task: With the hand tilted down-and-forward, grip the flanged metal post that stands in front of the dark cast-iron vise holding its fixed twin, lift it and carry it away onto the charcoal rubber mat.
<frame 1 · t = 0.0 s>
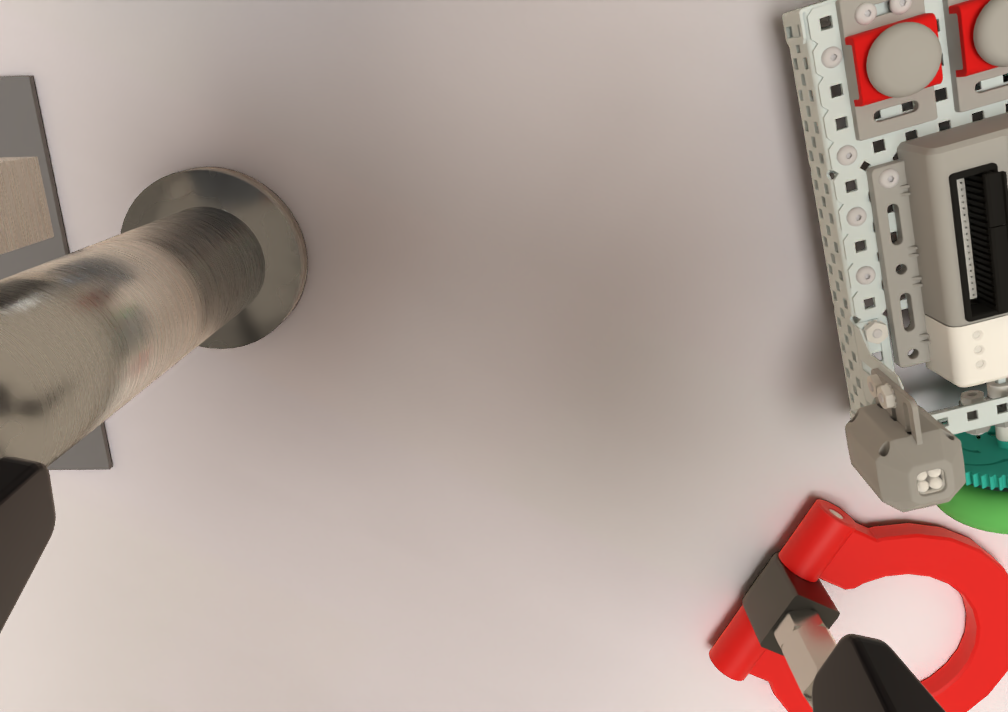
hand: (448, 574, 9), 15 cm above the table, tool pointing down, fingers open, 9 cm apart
flanged metal post: (220, 256, 24), on the table
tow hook: (868, 616, 28), on the table
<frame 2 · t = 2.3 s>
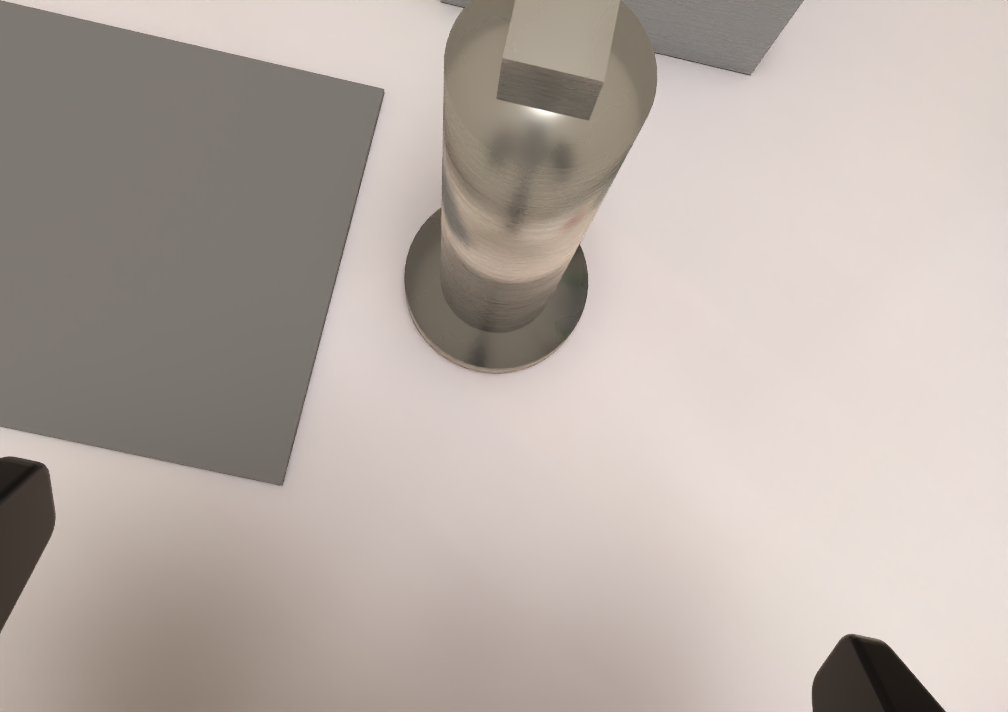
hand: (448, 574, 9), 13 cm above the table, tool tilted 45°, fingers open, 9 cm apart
flanged metal post: (495, 285, 24), on the table
mat: (128, 232, 23), on the table
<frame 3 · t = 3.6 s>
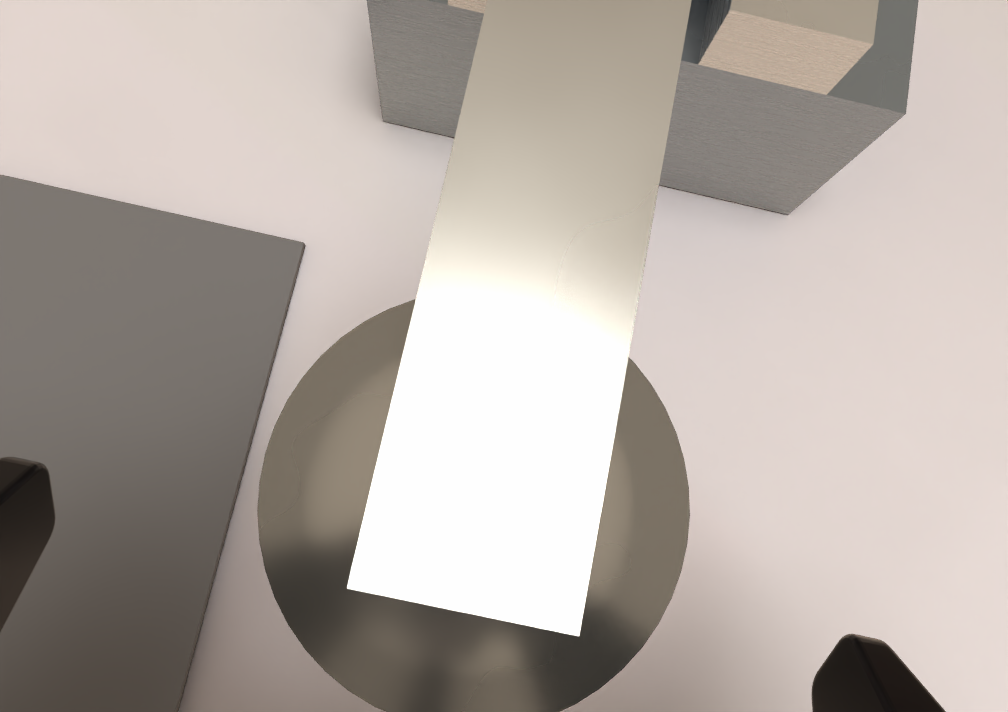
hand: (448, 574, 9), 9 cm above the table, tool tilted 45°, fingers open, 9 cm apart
flanged metal post: (449, 512, 17), on the table
vise: (609, 58, 20), on the table
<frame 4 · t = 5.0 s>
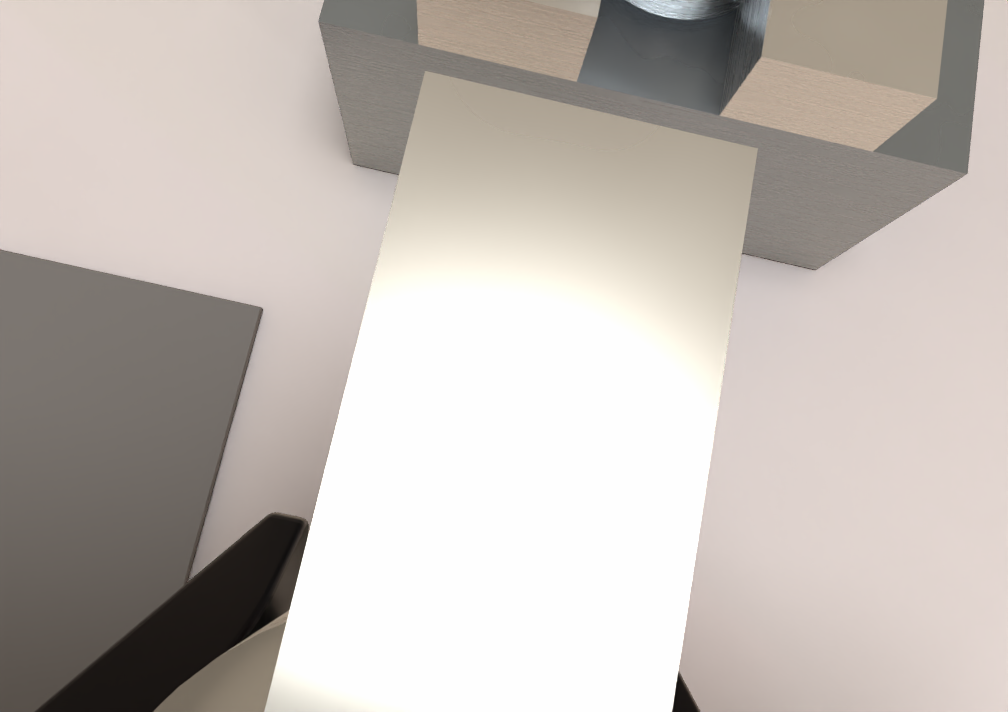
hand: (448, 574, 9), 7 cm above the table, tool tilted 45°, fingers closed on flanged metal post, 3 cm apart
flanged metal post: (427, 621, 15), on the table, touching gripper
vise: (612, 90, 18), on the table
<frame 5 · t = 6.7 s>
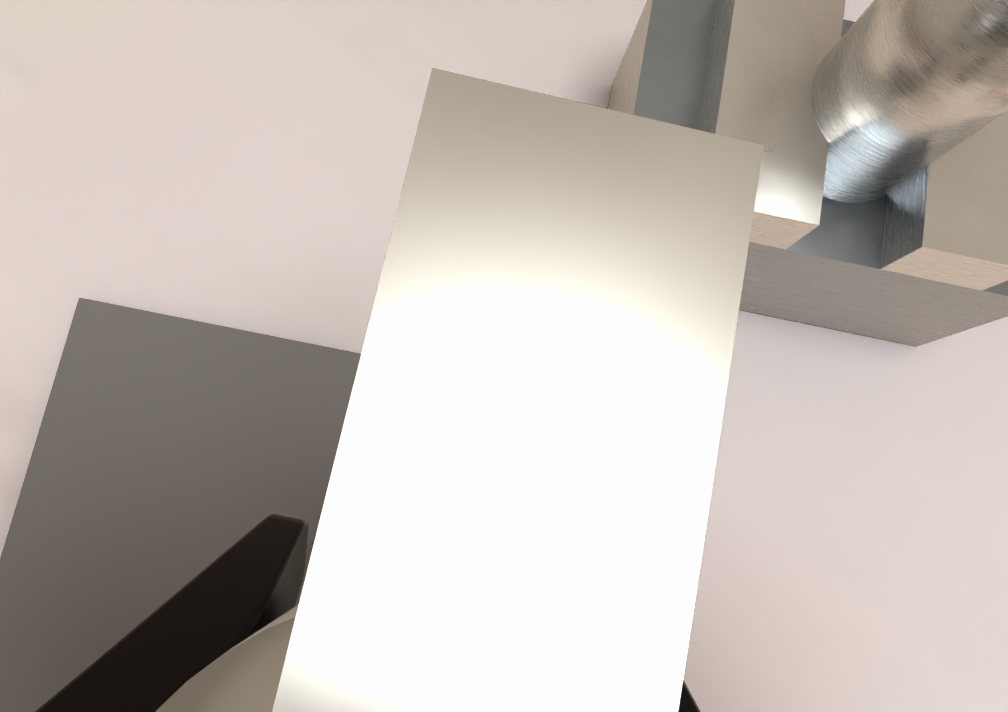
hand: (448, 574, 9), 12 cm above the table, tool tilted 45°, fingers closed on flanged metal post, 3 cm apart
flanged metal post: (429, 620, 15), point 6 cm above the table, touching gripper
vise: (761, 214, 24), on the table
mat: (250, 569, 21), on the table
when the fingers open (8 cm above the table, at t = 8.5 s): flanged metal post stays where it is, resting on mat.
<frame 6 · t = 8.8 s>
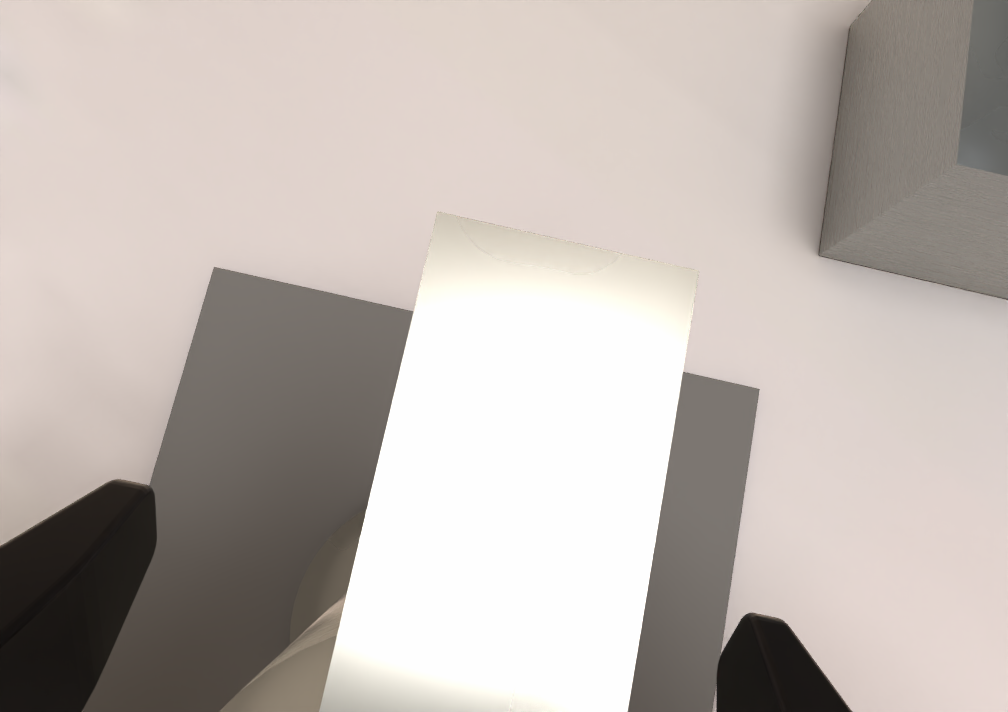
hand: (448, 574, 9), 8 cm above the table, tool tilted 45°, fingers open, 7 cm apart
flanged metal post: (429, 624, 16), resting on mat
mat: (428, 613, 16), on the table
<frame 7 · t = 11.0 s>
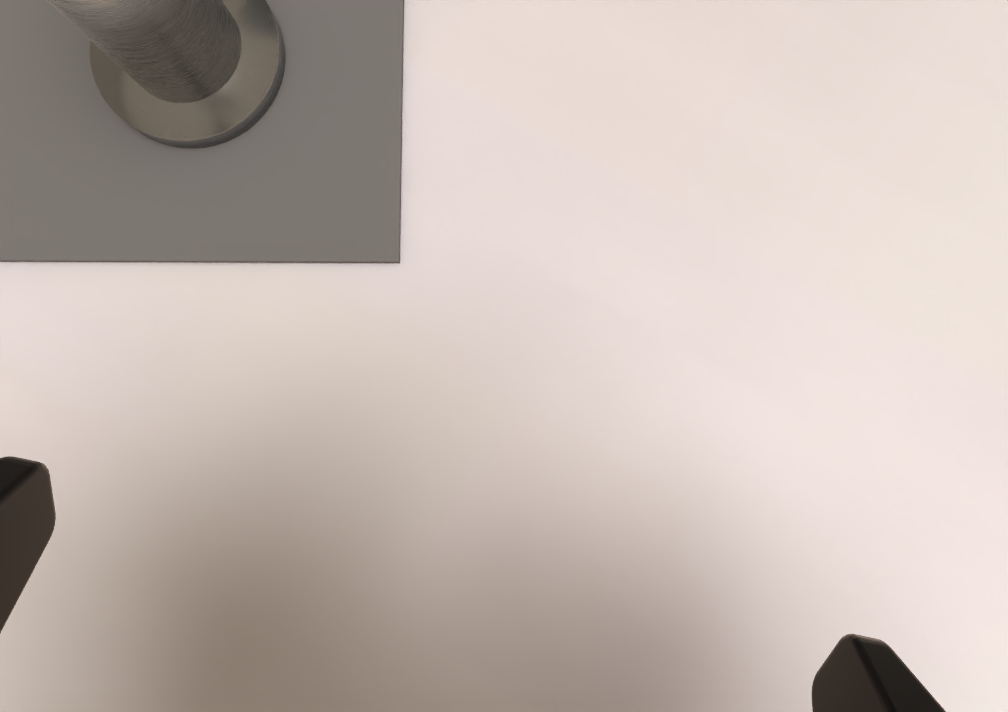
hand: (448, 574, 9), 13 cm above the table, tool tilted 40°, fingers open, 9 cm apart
flanged metal post: (194, 60, 23), resting on mat
mat: (195, 56, 23), on the table
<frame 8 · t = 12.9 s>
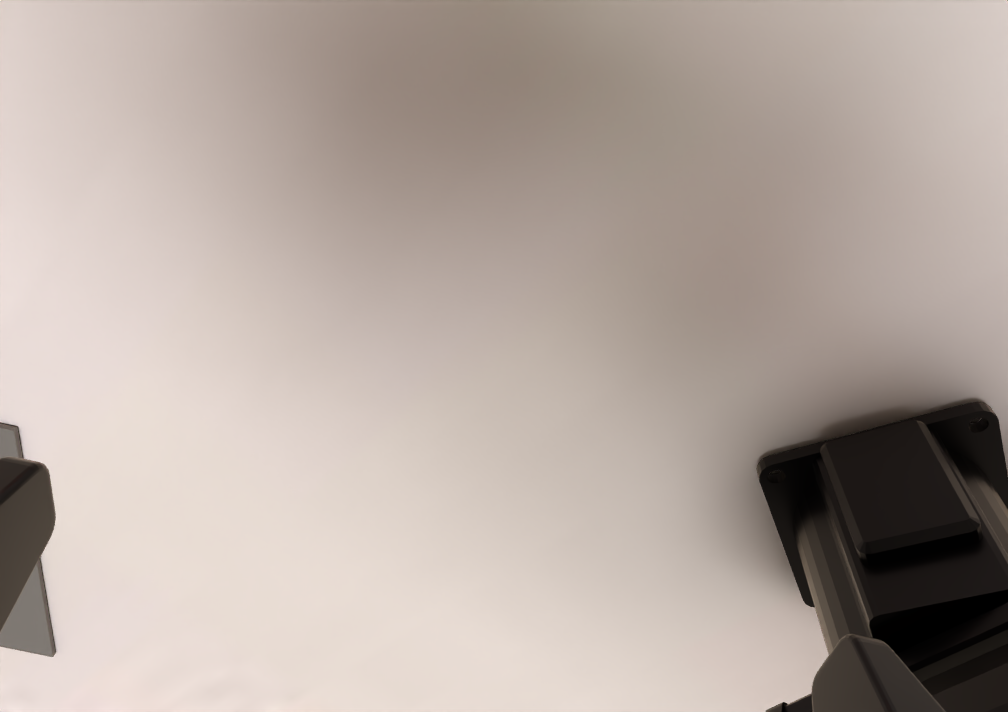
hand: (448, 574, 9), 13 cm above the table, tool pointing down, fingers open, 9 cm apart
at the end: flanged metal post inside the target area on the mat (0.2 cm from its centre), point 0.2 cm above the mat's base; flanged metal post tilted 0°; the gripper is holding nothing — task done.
